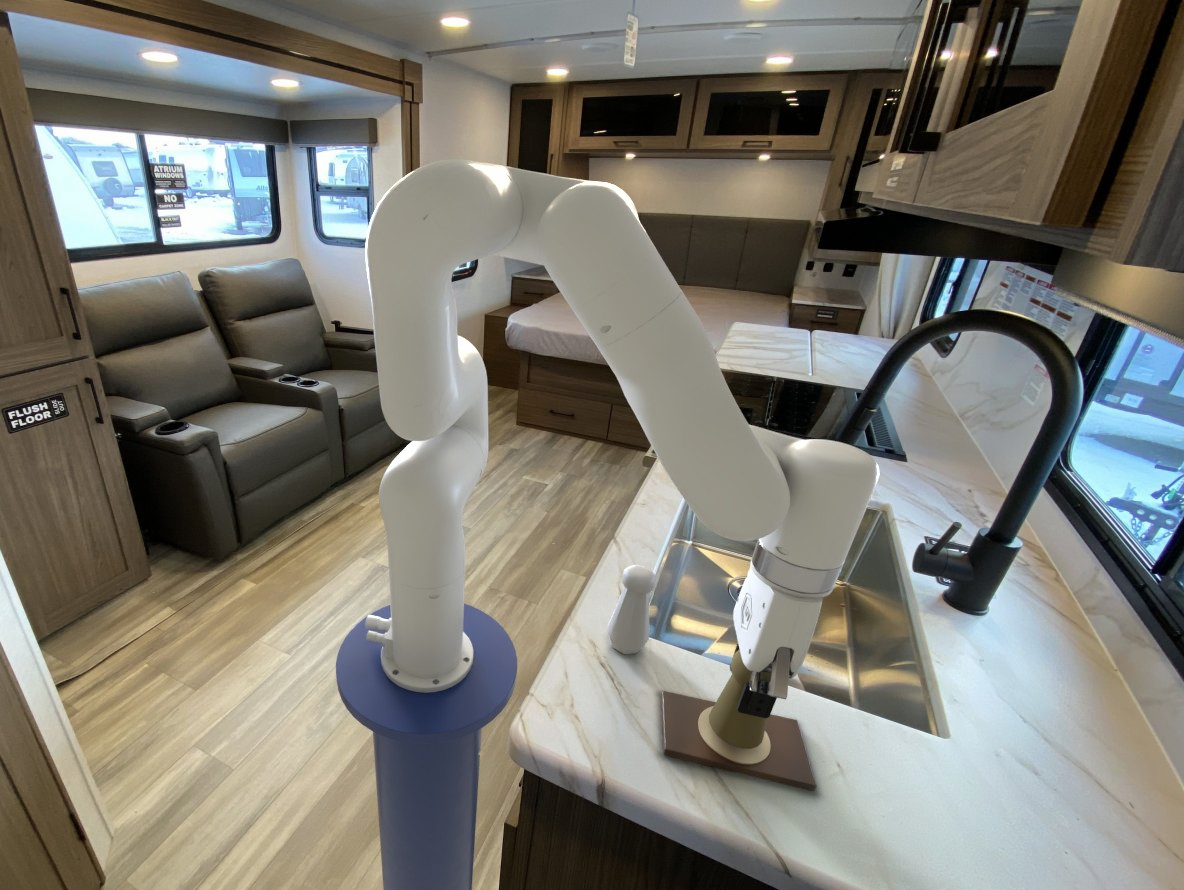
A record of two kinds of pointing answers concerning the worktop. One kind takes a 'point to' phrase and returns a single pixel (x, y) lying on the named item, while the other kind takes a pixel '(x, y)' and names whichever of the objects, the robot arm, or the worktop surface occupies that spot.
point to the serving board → (699, 743)
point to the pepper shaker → (725, 713)
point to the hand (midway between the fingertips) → (748, 691)
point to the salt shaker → (632, 611)
